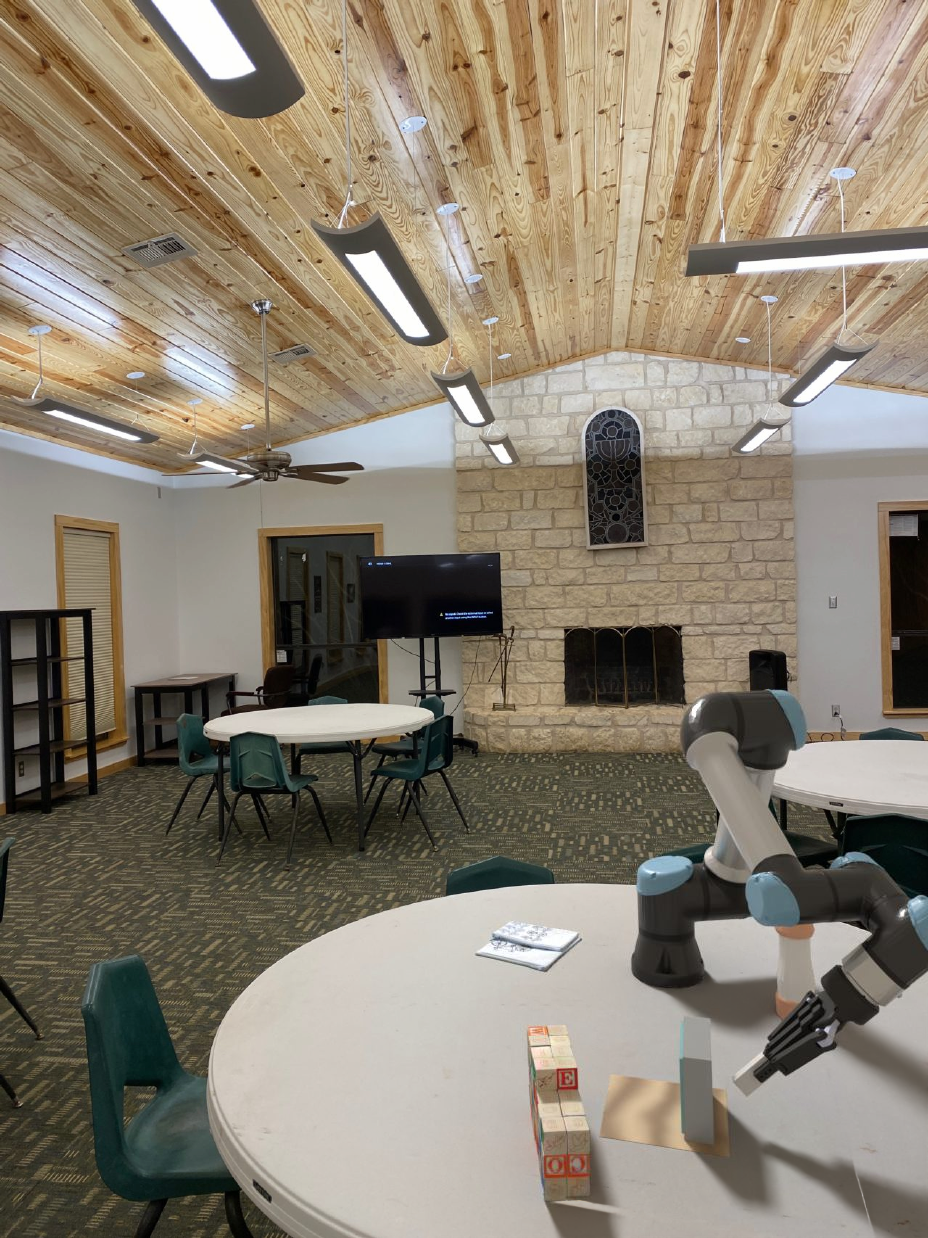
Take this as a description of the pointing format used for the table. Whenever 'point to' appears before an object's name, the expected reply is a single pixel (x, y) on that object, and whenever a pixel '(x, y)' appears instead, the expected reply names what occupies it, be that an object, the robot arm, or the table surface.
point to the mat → (658, 1115)
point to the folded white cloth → (529, 944)
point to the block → (696, 1080)
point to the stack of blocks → (557, 1114)
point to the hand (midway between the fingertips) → (739, 1086)
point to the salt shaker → (794, 967)
